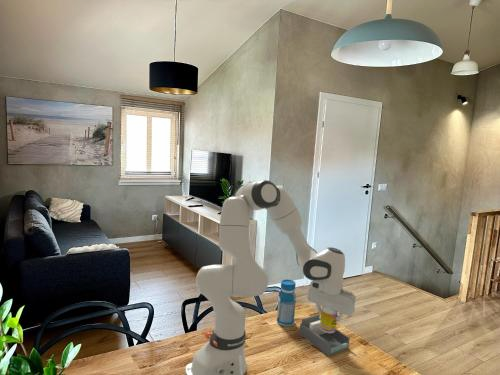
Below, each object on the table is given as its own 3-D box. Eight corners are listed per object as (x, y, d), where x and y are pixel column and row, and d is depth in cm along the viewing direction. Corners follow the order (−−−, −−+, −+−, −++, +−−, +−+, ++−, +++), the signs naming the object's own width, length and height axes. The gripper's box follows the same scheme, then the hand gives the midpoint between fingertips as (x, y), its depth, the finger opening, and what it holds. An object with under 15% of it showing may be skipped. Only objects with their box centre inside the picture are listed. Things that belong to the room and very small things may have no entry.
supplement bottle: (331, 336, 140) (335, 307, 138) (316, 329, 143) (320, 301, 142) (337, 329, 145) (341, 301, 143) (323, 323, 149) (326, 296, 147)
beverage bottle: (283, 328, 154) (286, 286, 152) (273, 319, 162) (275, 279, 159) (297, 324, 159) (301, 284, 156) (287, 316, 166) (290, 277, 164)
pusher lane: (328, 356, 136) (330, 340, 135) (299, 334, 151) (300, 319, 150) (348, 348, 142) (350, 332, 141) (318, 327, 157) (319, 313, 156)
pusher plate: (311, 338, 146) (312, 324, 145) (308, 336, 147) (309, 323, 146) (326, 332, 151) (328, 320, 150) (324, 330, 152) (325, 318, 151)
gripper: (359, 291, 138) (355, 323, 140) (313, 277, 150) (311, 306, 152) (353, 296, 133) (349, 329, 135) (306, 281, 145) (304, 311, 147)
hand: (328, 317), depth 143 cm, fingers closed on supplement bottle, 7 cm apart
